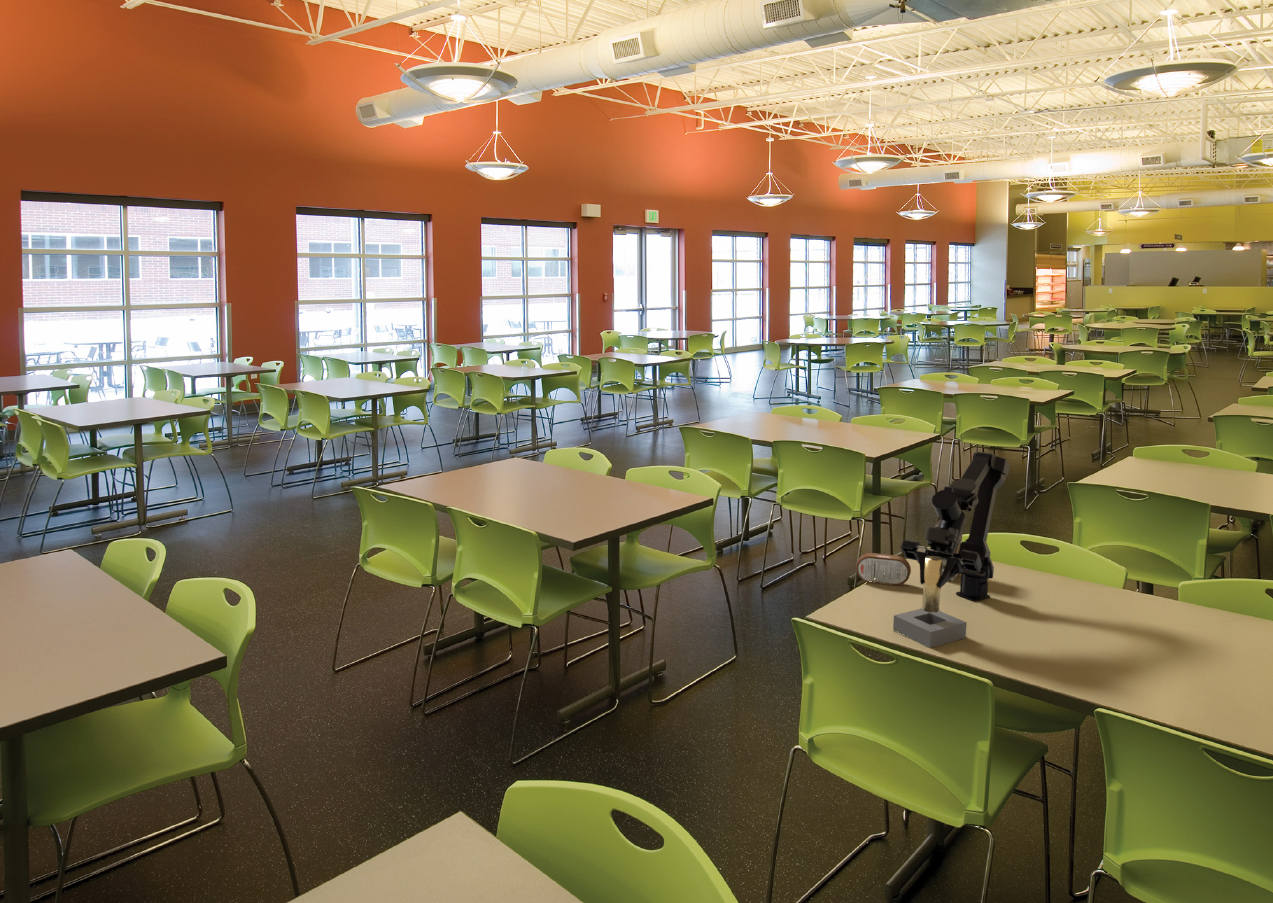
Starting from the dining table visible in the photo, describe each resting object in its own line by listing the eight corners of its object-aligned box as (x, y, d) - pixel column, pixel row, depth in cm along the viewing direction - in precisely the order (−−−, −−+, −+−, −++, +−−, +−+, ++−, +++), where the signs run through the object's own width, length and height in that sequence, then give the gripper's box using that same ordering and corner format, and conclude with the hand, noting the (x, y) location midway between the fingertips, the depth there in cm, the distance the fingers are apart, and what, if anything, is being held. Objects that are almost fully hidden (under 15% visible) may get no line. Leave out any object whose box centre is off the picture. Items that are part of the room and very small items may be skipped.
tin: (910, 584, 259) (911, 555, 257) (909, 587, 256) (911, 559, 254) (855, 578, 264) (857, 550, 262) (854, 582, 261) (856, 554, 259)
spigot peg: (920, 606, 225) (923, 555, 222) (936, 606, 225) (939, 556, 222) (924, 612, 221) (927, 561, 218) (941, 612, 221) (944, 561, 218)
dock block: (893, 630, 226) (893, 615, 226) (928, 621, 232) (929, 606, 231) (929, 647, 216) (930, 632, 215) (965, 637, 222) (966, 622, 221)
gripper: (905, 507, 227) (884, 561, 220) (981, 520, 215) (962, 577, 209) (915, 530, 234) (896, 583, 228) (989, 543, 223) (971, 599, 217)
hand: (930, 585), depth 220 cm, fingers closed on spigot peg, 4 cm apart
